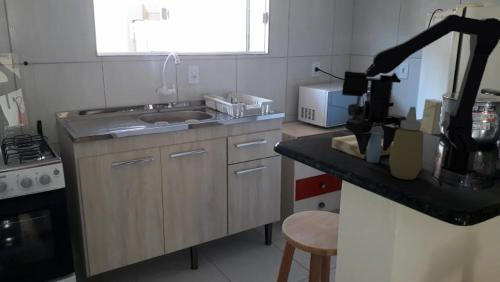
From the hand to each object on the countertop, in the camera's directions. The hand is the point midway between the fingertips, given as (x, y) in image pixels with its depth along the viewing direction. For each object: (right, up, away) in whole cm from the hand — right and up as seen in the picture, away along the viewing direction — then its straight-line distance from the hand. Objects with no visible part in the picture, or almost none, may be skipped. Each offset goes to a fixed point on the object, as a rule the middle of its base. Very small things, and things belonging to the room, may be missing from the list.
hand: (373, 152), depth 118 cm
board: (0, 0, +11) cm, 11 cm away
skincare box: (+32, +6, +37) cm, 49 cm away
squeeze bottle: (+4, -6, -11) cm, 13 cm away
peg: (0, -2, +1) cm, 3 cm away
